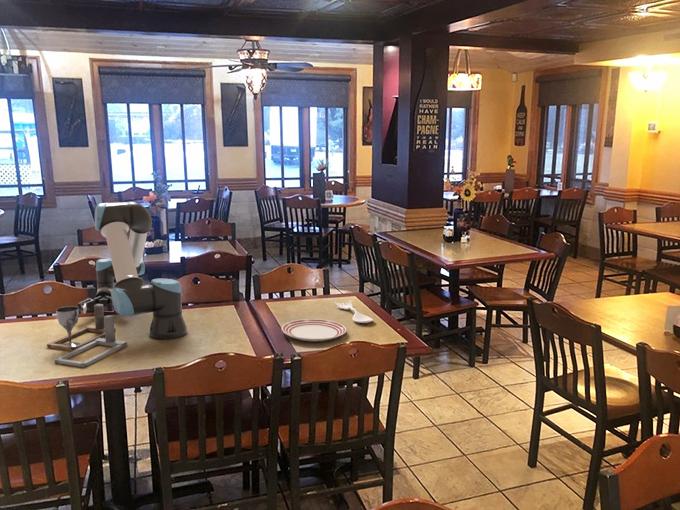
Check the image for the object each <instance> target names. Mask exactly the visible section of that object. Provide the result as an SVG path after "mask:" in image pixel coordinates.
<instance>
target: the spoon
mask: <svg viewBox="0 0 680 510" xmlns="http://www.w3.org/2000/svg"><path fill="white" fill-rule="evenodd" d="M334 304H335V305H336V306H337V307H339V309H340V308H341V310H342V309H343V310H346V311H349V310H350V311H351V312H354V315H353V316H352V320H353V322H356V323H359V324H368V323H371V322H373V321H374V318H372V317H371V316H368V315H366V314H363V313H360V312H359V311H358V309H357V308H355V307H354V305H353V302H352V300H351V299H349V301H345V302H342V303H341V302H338V301H337V302H336V301H334Z"/></svg>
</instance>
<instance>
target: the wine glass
mask: <svg viewBox="0 0 680 510" xmlns="http://www.w3.org/2000/svg"><path fill="white" fill-rule="evenodd" d="M55 312H56V319H57V322H58V324H59V325H60V326H61V327H62V328H63V329H64V330H65V331H66V332H67V335H68V337H69V340H68V342H64V343H61V345H67V346H76V345H78V344H80V343H81V342H77V341H72V338H71V334H72V330H73V329H74V327H75V326H76V324H77V323H78V321H79V317H80V309H79V308H78V306H77V305H76V306H75V305H68V306H61V307H58V308H56V311H55Z"/></svg>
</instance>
